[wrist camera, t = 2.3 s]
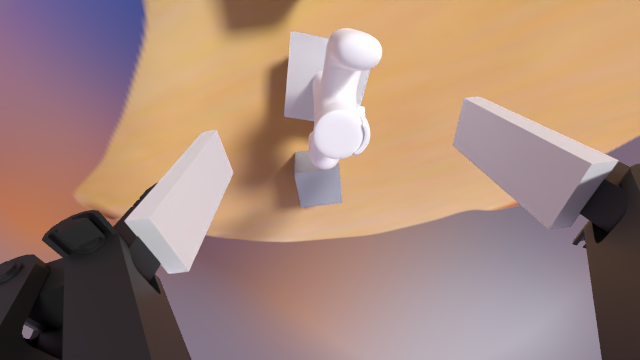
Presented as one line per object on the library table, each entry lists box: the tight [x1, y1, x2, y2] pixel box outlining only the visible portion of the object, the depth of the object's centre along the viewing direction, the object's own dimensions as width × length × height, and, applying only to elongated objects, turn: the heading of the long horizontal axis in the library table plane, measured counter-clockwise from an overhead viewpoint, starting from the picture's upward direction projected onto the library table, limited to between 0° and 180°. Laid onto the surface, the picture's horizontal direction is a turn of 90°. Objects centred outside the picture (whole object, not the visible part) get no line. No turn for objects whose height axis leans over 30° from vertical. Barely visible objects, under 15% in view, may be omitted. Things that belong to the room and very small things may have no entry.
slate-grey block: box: [294, 151, 342, 208], centre depth 29 cm, size 5×5×5 cm
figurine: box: [284, 28, 382, 170], centre depth 18 cm, size 7×9×15 cm
